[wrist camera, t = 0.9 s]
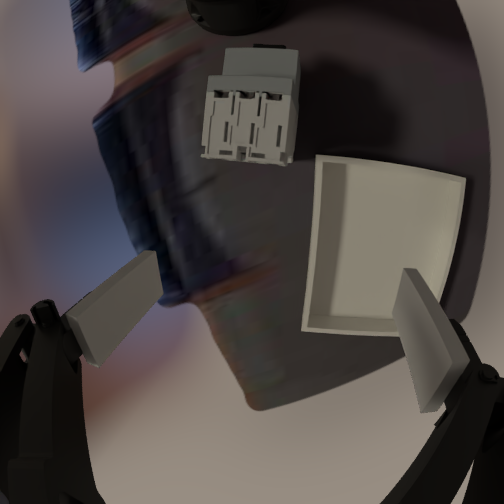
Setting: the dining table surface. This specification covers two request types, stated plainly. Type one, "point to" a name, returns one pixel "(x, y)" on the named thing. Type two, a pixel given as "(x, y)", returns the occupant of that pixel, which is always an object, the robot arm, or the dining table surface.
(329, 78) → the dining table surface
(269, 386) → the dining table surface
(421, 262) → the parts tray
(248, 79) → the circuit breaker
